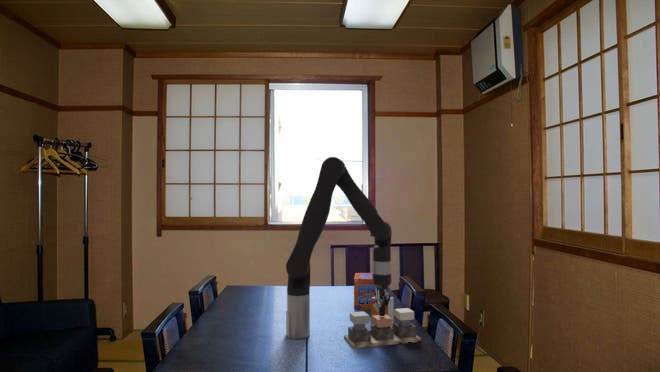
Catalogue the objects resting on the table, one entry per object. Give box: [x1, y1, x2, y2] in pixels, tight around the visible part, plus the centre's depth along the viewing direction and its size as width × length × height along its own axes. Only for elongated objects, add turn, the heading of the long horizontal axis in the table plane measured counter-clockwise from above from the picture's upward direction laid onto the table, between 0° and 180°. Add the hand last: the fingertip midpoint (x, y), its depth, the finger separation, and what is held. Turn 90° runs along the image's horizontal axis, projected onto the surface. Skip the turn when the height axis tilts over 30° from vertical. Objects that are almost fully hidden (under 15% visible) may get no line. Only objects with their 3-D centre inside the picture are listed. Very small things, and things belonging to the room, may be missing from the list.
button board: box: [343, 322, 422, 349], centre depth 183 cm, size 28×12×5 cm, turn 105°
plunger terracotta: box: [372, 315, 392, 329], centre depth 183 cm, size 6×6×7 cm
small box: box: [370, 296, 395, 327], centre depth 199 cm, size 8×6×13 cm
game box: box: [353, 272, 376, 311], centre depth 235 cm, size 16×16×16 cm
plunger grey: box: [349, 310, 370, 331], centre depth 181 cm, size 6×6×7 cm
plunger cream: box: [393, 307, 415, 327], centre depth 186 cm, size 6×6×7 cm
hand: (381, 315), depth 183 cm, fingers closed
